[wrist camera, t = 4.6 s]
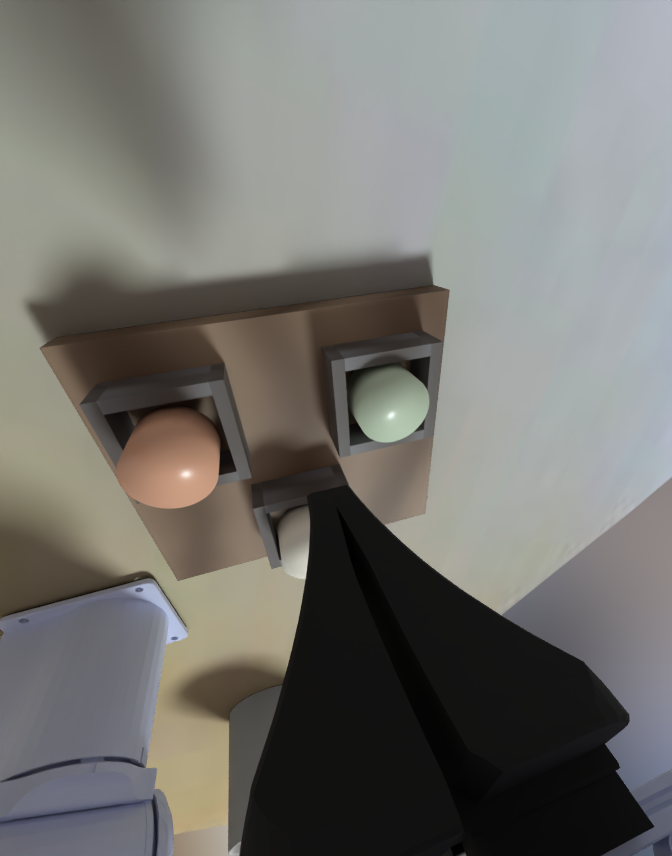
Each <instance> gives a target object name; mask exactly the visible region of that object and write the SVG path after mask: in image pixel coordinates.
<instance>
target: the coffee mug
mask: <svg viewBox="0 0 672 856" xmlns="http://www.w3.org/2000/svg"><path fill="white" fill-rule="evenodd" d="M281 689H282V685H279V686H275V687H271V688H268V689H265V690H262V691H259V692H257V693H255V694H253V695H251V696H249V697H247V698H245V699H244V700H242V701H241V702H239V703H238V704H237V705H236V706H235V707H234V708H233V709H232V711H231V713H230V716H229V813H228V852H229V855H230V856H239V853H240V846H241V840H242V834H243V828H244V822H245V817H246V812H247V807H248V801H249V796H250V789H251V785H252V782H253V779H254V776H255V773H256V769H257V766H258V763H259V760H260V757H261V754H262V751H263V748H264V745H265V742H266V739H267V736H268V733H269V730H270V727H271V723H272V720H273V717H274V713H275V710H276V706H277V703H278V699H279V696H280V692H281Z"/></svg>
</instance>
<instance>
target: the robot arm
mask: <svg viewBox="0 0 672 856" xmlns="http://www.w3.org/2000/svg"><path fill="white" fill-rule="evenodd" d="M307 502H308V508H309V514H310V539H309V555H308V564H307V572H306V580H305V587H304V593H303V599H302V605H301V610H300V615H299V620H298V625H297V629H296V634H295V638H294V643H293V647H292V651H291V655H290V659H289V663H288V667H287V671H286V674H285V678H284V682H283V685H282V689H281V692H280V696H279V699H278V703H277V706H276V710H275V713H274V717H273V720H272V723H271V727H270V730H269V733H268V736H267V739H266V742H265V745H264V748H263V751H262V754H261V757H260V760H259V763H258V766H257V769H256V773H255V776H254V779H253V782H252V785H251V789H250V796H249V801H248V807H247V812H246V817H245V822H244V828H243V834H242V840H241V846H240V853H239V856H632V855H634V854H636V853H638V852H639V851H641V850H643V849H645V848H647V847H649V846H650V845H652V844H653V851H654V855H655V856H672V769H671V770H669V771H667V772H665V773H663V774H661V775H659V776H657V777H655V778H653V779H651V780H649V781H647V782H645V783H643V784H641V785H639V786H637V787H635V788H633V789H631V790H628V788H627V787H626V785H625V784H624V782H623V781H622V780H621V778H620V777H619V775H618V774H617V772H616V770H617V769H619V768H620V767H619V764H618V762H617V760H616V759H615V758H614V756H613V755H612V753H611V752H610V751H609V749H608V748H607V746H606V745H605V743H606V742H608V741H609V740H610V739H611V738H613V737H614V736H615V735H616V734H618V733H619V732H620V731H621V730H623V729H624V728H625V727H626V726H627V725H628V723H629V714H628V713H627V711H626V710H625V709H624V708H623V706H622V705H621V704H620V703H619V702H618V700H617V699H616V698H615V697H614V695H613V694H612V693H611V692H610V690H609V689H608V688H607V687H606V686H605V685H604V683H603V682H602V681H601V680H600V679H599V678H598V677H597V676H596V675H595V674H594V673H593V672H592V671H591V670H590V669H589V667H588V666H587V665H586V664H585V663H584V662H583V661H581V660H579V659H578V658H576V657H574V656H572V655H570V654H568V653H566V652H564V651H562V650H561V649H559V648H557V647H555V646H553V645H551V644H549V643H548V642H546V641H544V640H542V639H540V638H539V637H537V636H535V635H533V634H532V633H530V632H528V631H526V630H525V629H523V628H521V627H520V626H518V625H516V624H514V623H513V622H511V621H510V620H508V619H506V618H504V617H503V616H501V615H500V614H498V613H497V612H495V611H493V610H492V609H490V608H489V607H487V606H486V605H484V604H483V603H481V602H480V601H478V600H477V599H475V598H474V597H472V596H470V595H469V594H467V593H466V592H464V591H463V590H462V589H460V588H459V587H457V586H456V585H455V584H453V583H452V582H450V581H449V580H448V579H446V578H445V577H444V576H442V575H441V574H440V573H438V572H437V571H436V570H435V569H433V568H432V567H431V566H429V565H428V564H427V563H426V562H424V561H423V560H422V559H421V558H420V557H418V556H417V555H416V554H415V553H414V552H413V551H411V550H410V549H409V548H408V547H407V546H406V545H405V544H403V543H402V542H401V541H400V540H399V539H398V538H397V537H396V536H395V535H394V534H393V533H392V532H391V531H390V530H389V529H388V528H387V527H386V526H385V525H384V524H383V523H382V522H381V521H380V520H379V519H378V518H377V517H376V516H375V515H374V514H373V513H372V512H371V511H370V510H369V509H368V508H367V507H366V506H365V504H364V503H363V502H362V501H361V500H360V499H359V497H358V496H357V495H356V494H355V493H354V491H353V490H352V489H351V487H350V486H348V485H343V486H339V487H335V488H331V489H327V490H323V491H318V492H314V493H310V494H309V495H308V496H307ZM0 630H2V631H3V632H4V633H3V635H2V637H1V639H0V856H173V821H172V815H171V811H170V808H169V806H168V802H167V799H166V796H165V795H164V793H163V792H162V791H161V790H160V789H154V788H155V781H156V774H157V768H146V764H147V758H148V752H149V746H150V740H151V733H152V727H153V721H154V715H155V709H156V703H157V697H158V690H159V684H160V678H161V672H162V666H163V660H164V653H165V647H166V644H169V643H172V642H175V641H178V640H182V639H184V638H186V637H187V636H188V630H187V628H186V627H185V625H184V624H183V622H182V621H181V619H180V618H179V616H178V615H177V613H176V611H175V610H174V608H173V607H172V605H171V604H170V602H169V601H168V599H167V598H166V596H165V595H164V593H163V592H162V590H161V589H160V587H159V586H158V584H157V583H156V581H155V580H153V579H149V578H148V579H143V580H139V581H136V582H132V583H128V584H124V585H121V586H117V587H113V588H109V589H106V590H102V591H98V592H94V593H91V594H87V595H83V596H79V597H76V598H72V599H68V600H64V601H61V602H57V603H53V604H49V605H46V606H42V607H38V608H34V609H31V610H27V611H23V612H19V613H16V614H12V615H8V616H5V617H2V618H1V619H0Z"/></svg>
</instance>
